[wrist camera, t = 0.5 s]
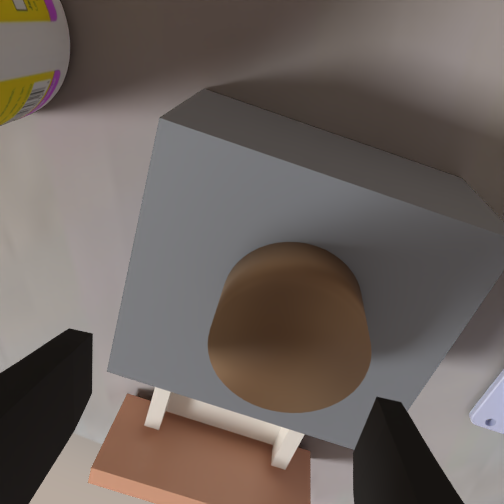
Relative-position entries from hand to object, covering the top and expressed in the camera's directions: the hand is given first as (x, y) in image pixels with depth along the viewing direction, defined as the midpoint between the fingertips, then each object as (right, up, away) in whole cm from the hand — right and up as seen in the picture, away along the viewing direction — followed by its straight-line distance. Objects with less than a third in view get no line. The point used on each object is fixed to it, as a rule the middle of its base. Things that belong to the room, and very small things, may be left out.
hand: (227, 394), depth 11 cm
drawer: (0, -3, +13) cm, 13 cm away
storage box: (+2, +4, +9) cm, 10 cm away
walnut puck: (+2, +2, +4) cm, 4 cm away
